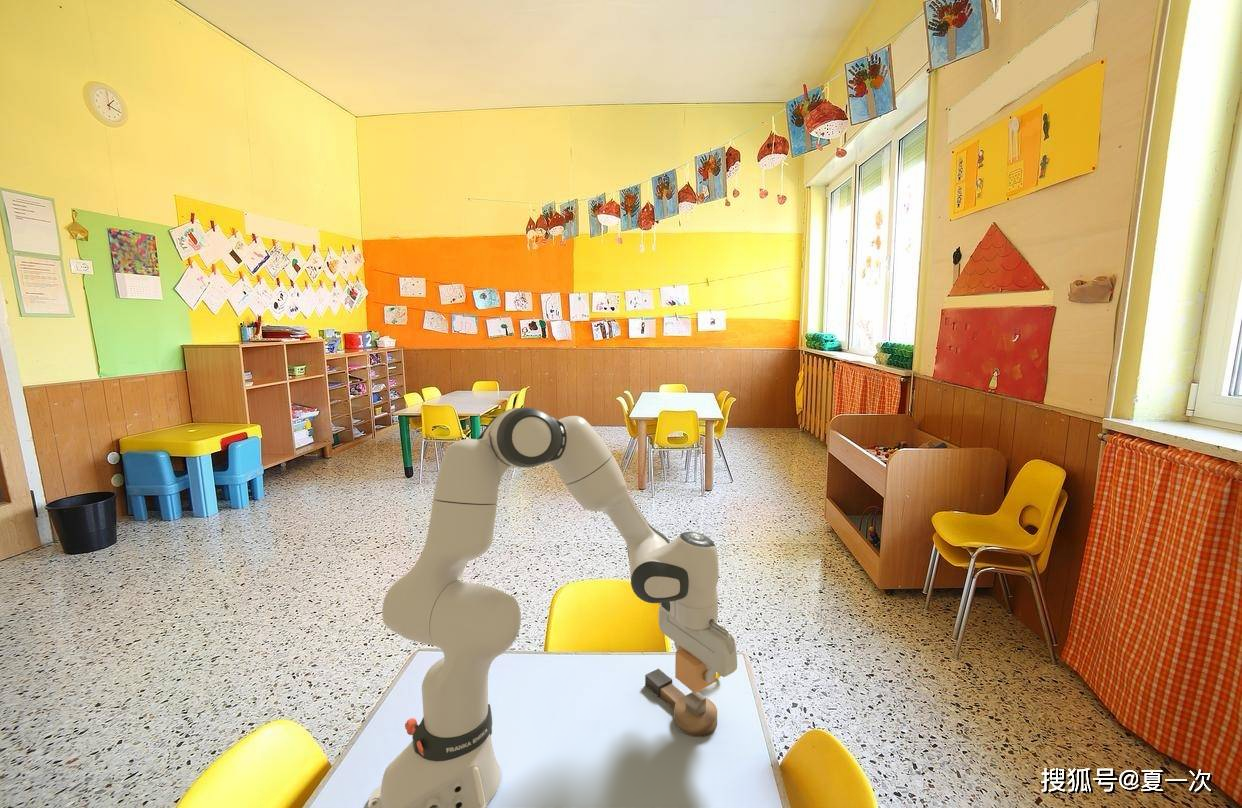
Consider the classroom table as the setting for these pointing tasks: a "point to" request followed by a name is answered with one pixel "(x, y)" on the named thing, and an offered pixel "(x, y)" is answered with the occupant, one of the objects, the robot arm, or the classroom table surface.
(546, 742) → the classroom table surface
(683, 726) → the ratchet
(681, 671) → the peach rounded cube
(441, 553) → the robot arm
